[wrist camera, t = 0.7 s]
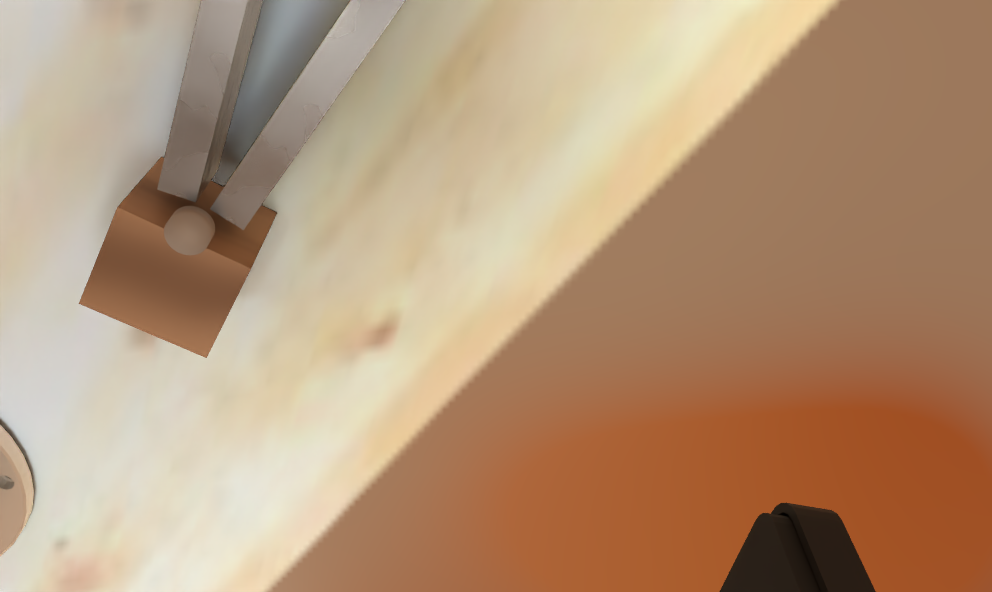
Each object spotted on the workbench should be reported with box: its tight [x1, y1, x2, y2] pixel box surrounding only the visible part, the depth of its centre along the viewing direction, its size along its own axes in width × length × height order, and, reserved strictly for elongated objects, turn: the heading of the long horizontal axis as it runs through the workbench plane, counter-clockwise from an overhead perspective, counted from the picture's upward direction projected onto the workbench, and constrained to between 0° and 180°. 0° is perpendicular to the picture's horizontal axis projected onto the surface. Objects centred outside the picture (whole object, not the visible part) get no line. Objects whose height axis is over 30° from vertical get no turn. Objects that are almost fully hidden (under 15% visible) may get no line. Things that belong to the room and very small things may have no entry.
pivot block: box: [79, 157, 277, 358], centre depth 34 cm, size 6×5×5 cm
